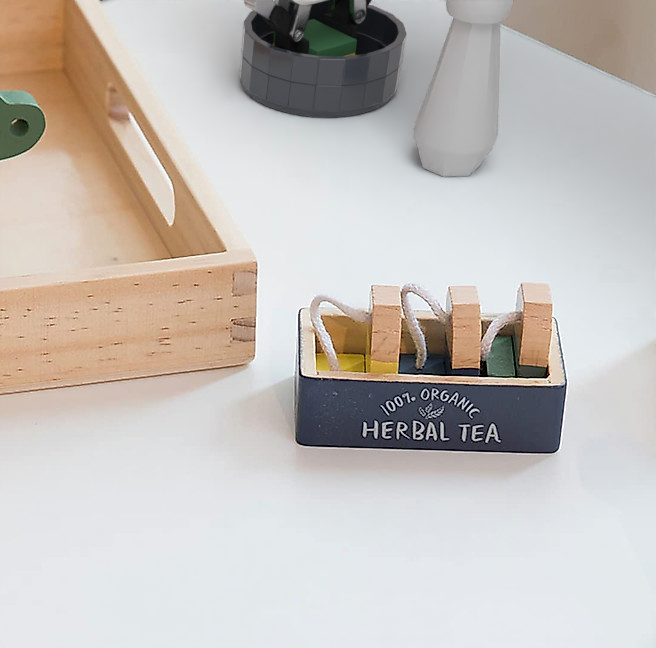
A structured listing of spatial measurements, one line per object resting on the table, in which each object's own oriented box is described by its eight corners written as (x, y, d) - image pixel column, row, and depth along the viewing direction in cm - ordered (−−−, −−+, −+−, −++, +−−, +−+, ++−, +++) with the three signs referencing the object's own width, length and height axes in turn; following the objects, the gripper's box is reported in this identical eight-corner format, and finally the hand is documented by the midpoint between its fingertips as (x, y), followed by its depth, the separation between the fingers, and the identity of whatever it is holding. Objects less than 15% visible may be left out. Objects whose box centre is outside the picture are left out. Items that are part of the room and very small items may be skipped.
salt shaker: (456, 190, 106) (491, 2, 97) (391, 162, 109) (420, -23, 100) (507, 165, 109) (546, -20, 100) (442, 139, 112) (475, -43, 103)
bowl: (324, 42, 125) (331, -14, 122) (430, 94, 118) (440, 35, 114) (207, 76, 120) (211, 18, 117) (309, 133, 113) (316, 72, 109)
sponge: (308, 63, 120) (313, 18, 118) (351, 84, 117) (357, 39, 115) (269, 74, 119) (273, 29, 116) (312, 96, 116) (317, 51, 113)
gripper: (283, -144, 100) (258, 122, 112) (466, -185, 107) (424, 70, 119) (211, -172, 105) (195, 87, 117) (391, -209, 112) (358, 39, 124)
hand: (311, 76), depth 118 cm, fingers closed on sponge, 4 cm apart
